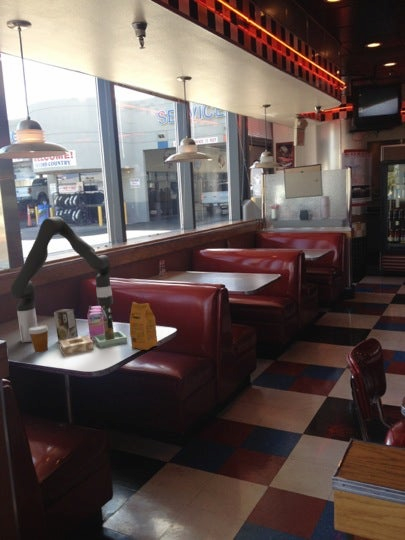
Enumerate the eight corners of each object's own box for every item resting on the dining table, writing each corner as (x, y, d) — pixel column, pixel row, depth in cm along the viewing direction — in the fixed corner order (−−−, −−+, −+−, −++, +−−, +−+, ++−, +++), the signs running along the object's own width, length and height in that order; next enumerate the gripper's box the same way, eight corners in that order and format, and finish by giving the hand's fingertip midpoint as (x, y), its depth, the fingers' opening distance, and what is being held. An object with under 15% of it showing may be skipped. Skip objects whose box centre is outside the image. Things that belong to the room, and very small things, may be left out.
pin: (106, 342, 251) (104, 319, 250) (104, 340, 256) (101, 317, 254) (115, 340, 253) (113, 317, 252) (113, 338, 257) (110, 316, 256)
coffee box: (78, 338, 268) (74, 309, 265) (70, 341, 262) (66, 312, 259) (65, 337, 271) (61, 308, 269) (57, 341, 266) (53, 311, 263)
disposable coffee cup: (40, 354, 244) (36, 330, 242) (27, 352, 249) (23, 329, 248) (55, 348, 252) (51, 325, 250) (42, 346, 257) (39, 324, 256)
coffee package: (143, 342, 249) (138, 299, 245) (160, 345, 241) (156, 301, 237) (128, 348, 241) (123, 304, 238) (145, 351, 233) (140, 306, 230)
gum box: (92, 328, 286) (89, 305, 284) (106, 326, 288) (103, 303, 285) (90, 339, 263) (86, 314, 261) (105, 337, 264) (102, 312, 262)
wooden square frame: (64, 355, 239) (63, 347, 238) (60, 348, 252) (59, 340, 251) (93, 349, 244) (92, 341, 244) (88, 342, 257) (87, 335, 256)
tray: (99, 348, 245) (99, 342, 245) (94, 341, 258) (93, 336, 258) (127, 342, 251) (126, 336, 250) (120, 336, 264) (119, 330, 263)
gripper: (94, 294, 256) (98, 324, 258) (100, 298, 243) (104, 330, 245) (108, 291, 259) (112, 322, 261) (115, 295, 246) (119, 327, 248)
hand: (108, 326), depth 253 cm, fingers open, 8 cm apart
